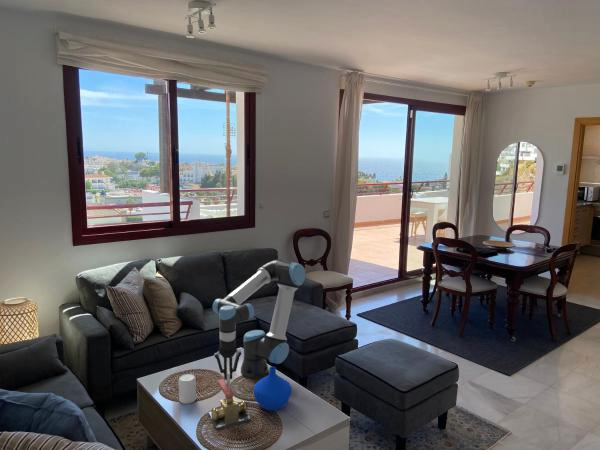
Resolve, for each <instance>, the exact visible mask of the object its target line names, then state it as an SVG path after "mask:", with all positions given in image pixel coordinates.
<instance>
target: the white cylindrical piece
mask: <svg viewBox="0 0 600 450" xmlns="http://www.w3.org/2000/svg"><path fill="white" fill-rule="evenodd" d="M196 382H197V381H196V377H195V375H194V374H192V373H186V374H183V375H180V376H179V379H178V400H179V402H180V403H181V404H185V405H187V404H192V403H194V402H195V401H196V399H197V385H196V384H197V383H196Z"/></svg>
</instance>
